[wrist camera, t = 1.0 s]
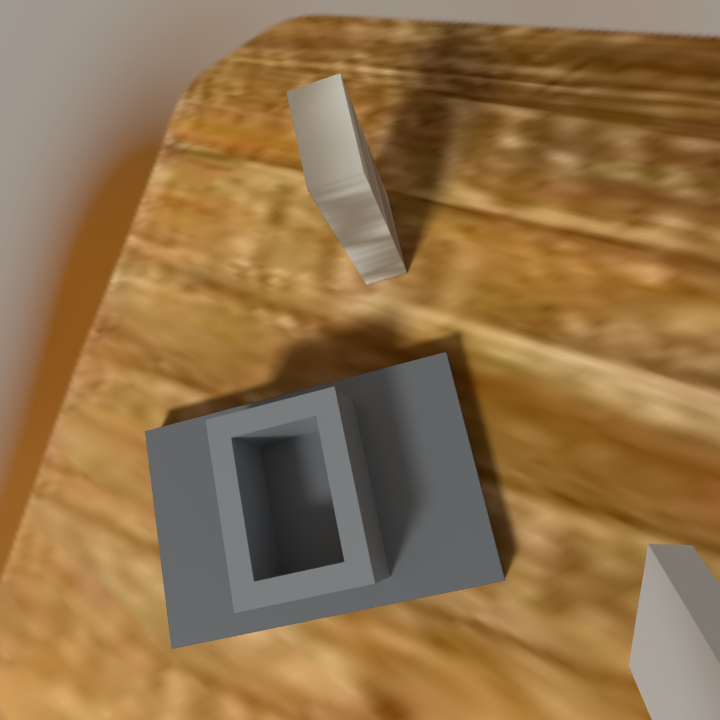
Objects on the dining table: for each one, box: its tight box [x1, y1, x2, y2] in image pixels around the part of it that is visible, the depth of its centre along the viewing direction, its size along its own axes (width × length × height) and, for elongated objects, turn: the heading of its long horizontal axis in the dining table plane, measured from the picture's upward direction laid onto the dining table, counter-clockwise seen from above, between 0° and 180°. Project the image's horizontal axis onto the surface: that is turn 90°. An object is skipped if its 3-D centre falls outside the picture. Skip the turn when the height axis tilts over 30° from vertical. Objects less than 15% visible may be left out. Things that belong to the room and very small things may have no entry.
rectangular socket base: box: [145, 352, 505, 649], centre depth 35 cm, size 18×12×6 cm, turn 102°
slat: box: [287, 74, 407, 285], centre depth 35 cm, size 2×5×12 cm, turn 13°
